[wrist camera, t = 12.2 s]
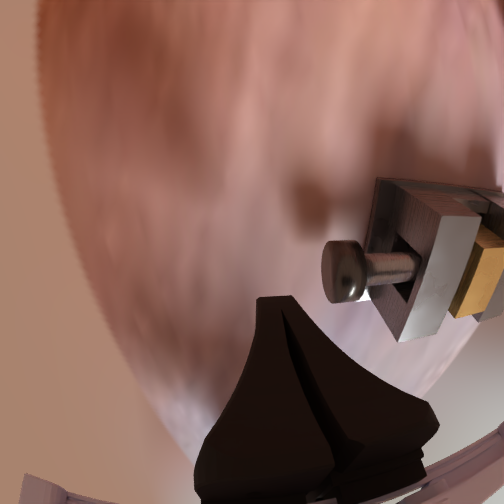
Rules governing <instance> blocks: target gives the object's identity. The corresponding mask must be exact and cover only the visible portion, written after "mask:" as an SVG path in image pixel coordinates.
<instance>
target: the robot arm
mask: <svg viewBox="0 0 504 504" xmlns="http://www.w3.org/2000/svg"><path fill="white" fill-rule="evenodd" d="M439 426H440V424H439V422H438V420H437V418H436V415H435V414H434V411H433V410H432V408H431V406H430V405H429V403H428V402H427V401H424V400H422V399H420V398H417V397H415V396H413V395H410V394H408V393H406V392H403V391H401V390H400V389H398V388H396V387H394V386H392V385H390V384H388V383H386V382H385V381H383V380H381V379H380V378H378V377H377V376H375V375H374V374H372V373H371V372H369V371H367V370H366V369H364V368H363V367H362V366H360V365H359V364H358V363H356V362H355V361H354V360H353V359H351V358H350V357H349V356H348V355H346V354H345V353H344V352H343V351H342V350H341V349H340V348H339V347H337V346H336V345H335V344H334V343H333V342H332V341H331V340H330V339H329V338H328V337H327V336H326V335H325V334H324V333H323V332H322V330H321V329H320V328H319V327H318V326H317V325H316V324H315V323H314V322H313V321H312V319H311V318H310V317H309V316H308V315H307V314H306V312H305V311H304V310H303V309H302V307H301V306H300V305H299V304H298V302H297V301H296V300H295V299H294V297H293V296H292V295H289V296H272V297H259V298H258V299H257V300H256V328H255V334H254V339H253V342H252V346H251V349H250V353H249V356H248V359H247V362H246V365H245V367H244V370H243V372H242V375H241V377H240V379H239V382H238V384H237V386H236V388H235V390H234V392H233V394H232V396H231V398H230V400H229V402H228V403H227V405H226V407H225V409H224V410H223V412H222V414H221V416H220V417H219V419H218V420H217V422H216V423H215V425H214V426H213V428H212V429H211V431H210V432H209V433H208V435H207V436H206V438H205V439H204V442H203V445H202V447H201V450H200V452H199V455H198V458H197V461H196V464H195V468H194V490H195V492H196V493H197V494H198V496H199V497H200V499H201V504H380V503H383V502H386V501H389V500H392V499H394V498H396V497H399V496H402V495H404V494H407V493H409V492H411V491H414V490H416V489H418V488H421V487H422V488H421V490H420V491H418V492H416V493H414V494H412V495H410V496H407V497H405V498H404V499H403V500H401V501H400V502H398V503H396V504H482V503H483V502H484V501H485V500H487V499H488V498H489V497H490V496H492V495H493V494H494V493H495V492H496V491H498V490H499V489H500V488H501V487H502V486H503V485H504V422H502V423H501V424H500V426H498V428H497V429H495V430H494V431H492V432H491V433H489V434H488V435H486V436H484V437H483V438H481V439H479V440H478V441H476V442H475V443H472V444H471V445H469V446H467V447H466V448H464V449H462V450H460V451H458V452H456V453H454V454H452V455H450V456H448V457H446V458H444V459H442V460H440V461H438V462H436V463H434V464H432V465H429V466H427V467H425V468H424V466H423V463H422V461H421V458H423V457H424V453H423V451H422V449H421V447H422V446H424V445H425V443H427V442H428V441H429V440H430V439H431V438H432V437H433V436H434V434H435V433H436V432H437V431H438V428H439ZM19 504H117V503H112V502H107V501H102V500H97V499H93V498H89V497H85V496H82V495H78V494H74V493H71V492H67V491H66V490H65V489H64V488H62V487H60V486H59V485H56V484H54V483H52V482H49V481H47V480H43V479H41V478H38V477H35V476H33V475H30V474H28V473H26V474H24V479H23V483H22V488H21V493H20V499H19Z"/></svg>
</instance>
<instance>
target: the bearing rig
mask: <svg viewBox="0 0 504 504" xmlns="http://www.w3.org/2000/svg"><path fill="white" fill-rule="evenodd" d="M480 223H481V224H482V225H484V226H485V227H486V228H488V229H489V230H490V231H492V232H493V233H494V234H496V235H497V236H498V237H500V238H501V239H502V240H504V193H503V192H499V191H493V190H487V189H480V188H473V187H466V186H459V185H451V184H442V183H434V182H424V181H414V180H403V179H390V178H377V180H376V186H375V193H374V199H373V205H372V211H371V217H370V223H369V228H368V233H367V238H366V243H365V248H364V254H372V253H392V252H411V251H416V252H417V253H418V254H419V255H420V256H421V257H422V258H423V259H422V262H421V265H420V268H419V271H418V275H417V278H416V280H415V281H410V282H401V283H391V284H381V285H371V286H366V288H365V291H364V294H363V296H362V297H361V299H360V300H358V301H365V300H372V302H373V303H374V305H375V306H376V308H377V310H378V311H379V313H380V315H381V316H382V318H383V319H384V321H385V323H386V324H387V326H388V328H389V329H390V331H391V333H392V334H393V336H394V338H395V339H396V341H397V343H399V342H404V341H409V340H413V339H418V338H422V337H426V336H430V335H434V334H437V332H438V330H439V328H440V326H441V324H442V322H443V319H444V317H445V315H446V313H447V311H448V309H449V306H450V304H451V302H452V300H453V297H454V295H455V293H456V290H457V288H458V285H459V283H460V280H461V278H462V275H463V273H464V270H465V268H466V265H467V262H468V259H469V256H470V254H471V251H472V248H473V245H474V242H475V238H476V235H477V232H478V229H479V225H480ZM355 302H356V301H355ZM503 310H504V269H503V272H502V274H501V276H500V279H499V281H498V283H497V286H496V288H495V290H494V292H493V294H492V296H491V299H490V301H489V303H488V305H487V307H486V309H485V311H483V312H479V313H475V314H472V316H473V317H474V318H475V319H476V321H477V322H481V321H485V320H488V319H491V318H494V317H497V316H500V315H501V314H502V312H503Z"/></svg>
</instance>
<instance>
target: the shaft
mask: <svg viewBox="0 0 504 504" xmlns="http://www.w3.org/2000/svg"><path fill="white" fill-rule="evenodd" d="M469 258H470V256H469ZM422 259H423V258H422V257H421V256H420V255H419V254H418V253H417V252H416V251H411V252H392V253H372V254H364V252H363V249H362V247H361V246H360V244H359V243H358V242H357V241H355V240H340V241H328V242H327V243H326V245H325V247H324V250H323V254H322V263H321V272H322V282H323V288H324V291H325V294H326V297H327V299H328V300H329V301H330V302H331V303H343V302H353V301H358V300H360V299H361V297H362V296H363V294H364V291H365V288H366V286H371V285H381V284H391V283H401V282H410V281H415V280H416V278H417V275H418V271H419V268H420V265H421V262H422ZM468 260H469V259H468ZM467 263H468V262H467ZM466 266H467V265H466ZM465 269H466V268H465ZM464 271H465V270H464ZM463 274H464V273H463Z"/></svg>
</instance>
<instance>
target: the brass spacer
mask: <svg viewBox="0 0 504 504" xmlns="http://www.w3.org/2000/svg"><path fill="white" fill-rule="evenodd" d="M503 269H504V240H502V239H501V238H500V237H498V236H497V235H496V234H494V233H493V232H492V231H490V230H489V229H488V228H486V227H485V226H484V225H482V224H481V223H480V225H479V229H478V232H477V235H476V238H475V242H474V245H473V248H472V251H471V254H470V258H469V260H468V263H467V266H466V269H465V271H464V274H463V275H462V278H461V280H460V283H459V285H458V288H457V290H456V293H455V295H454V297H453V300H452V302H451V304H450V306H449V309H448V311H449V312H450V313H451V315H452V316H453V317H454V318H455V319H456V318H460V317H464V316H468V315H472V314H475V313H479V312H483V311H485V309H486V307H487V305H488V303H489V301H490V299H491V296H492V294H493V292H494V290H495V288H496V286H497V283H498V281H499V279H500V276H501V274H502V272H503Z"/></svg>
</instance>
